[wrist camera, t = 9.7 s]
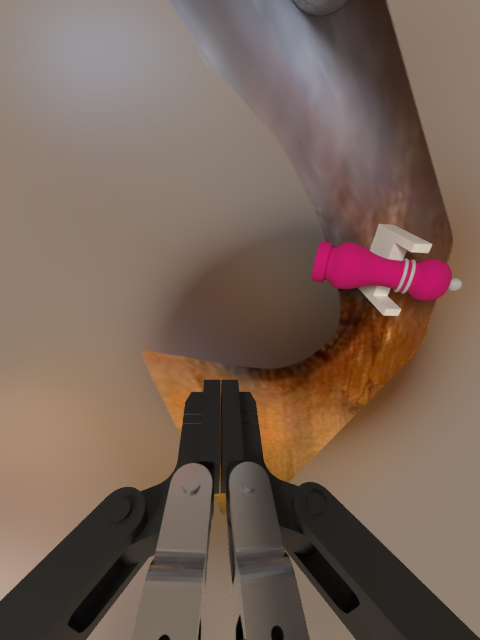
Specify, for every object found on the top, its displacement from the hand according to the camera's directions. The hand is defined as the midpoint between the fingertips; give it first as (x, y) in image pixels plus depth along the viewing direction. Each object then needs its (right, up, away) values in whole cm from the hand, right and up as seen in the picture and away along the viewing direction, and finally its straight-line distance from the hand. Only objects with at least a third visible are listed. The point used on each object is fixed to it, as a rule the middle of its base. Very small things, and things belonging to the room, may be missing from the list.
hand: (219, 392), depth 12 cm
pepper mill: (+13, +13, +31) cm, 36 cm away
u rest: (+24, +14, +35) cm, 45 cm away
